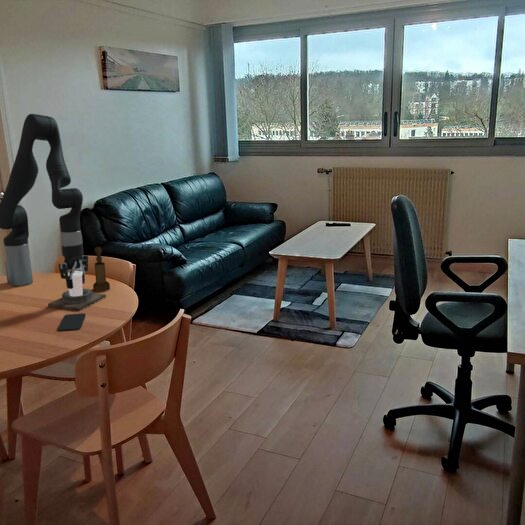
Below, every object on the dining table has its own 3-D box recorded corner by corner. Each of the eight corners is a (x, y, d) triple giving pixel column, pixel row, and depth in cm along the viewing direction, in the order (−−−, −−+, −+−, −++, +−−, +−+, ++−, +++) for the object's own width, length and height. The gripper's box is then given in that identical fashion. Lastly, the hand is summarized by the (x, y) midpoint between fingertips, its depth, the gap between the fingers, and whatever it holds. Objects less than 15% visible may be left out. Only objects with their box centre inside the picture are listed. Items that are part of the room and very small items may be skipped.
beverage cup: (64, 295, 199) (60, 260, 196) (79, 291, 204) (76, 257, 200) (72, 299, 195) (68, 263, 192) (87, 295, 200) (84, 259, 196)
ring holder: (48, 306, 195) (47, 297, 194) (76, 293, 209) (75, 284, 208) (79, 311, 190) (78, 301, 189) (106, 297, 205) (105, 288, 204)
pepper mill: (107, 292, 211) (103, 248, 207) (91, 292, 212) (87, 248, 207) (112, 287, 218) (108, 244, 213) (96, 287, 218) (92, 244, 213)
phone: (86, 313, 187) (80, 328, 173) (86, 315, 187) (80, 330, 173) (64, 314, 186) (56, 330, 172) (64, 316, 186) (56, 332, 172)
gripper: (76, 238, 202) (80, 279, 206) (49, 246, 189) (54, 290, 193) (92, 239, 199) (96, 281, 204) (66, 247, 186) (71, 292, 190)
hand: (76, 285), depth 198 cm, fingers closed on beverage cup, 6 cm apart
